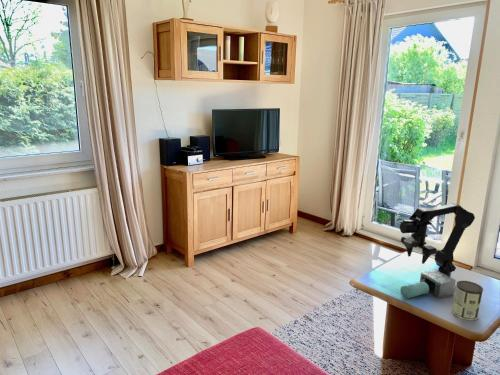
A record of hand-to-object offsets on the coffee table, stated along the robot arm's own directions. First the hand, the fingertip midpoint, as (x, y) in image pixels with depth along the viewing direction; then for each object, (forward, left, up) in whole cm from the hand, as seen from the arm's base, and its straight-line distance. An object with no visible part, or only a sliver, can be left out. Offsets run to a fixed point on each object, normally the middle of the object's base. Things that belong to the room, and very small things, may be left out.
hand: (415, 259), depth 193 cm
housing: (-3, +12, -12) cm, 17 cm away
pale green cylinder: (+12, +12, -12) cm, 20 cm away
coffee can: (+2, +32, -12) cm, 34 cm away
